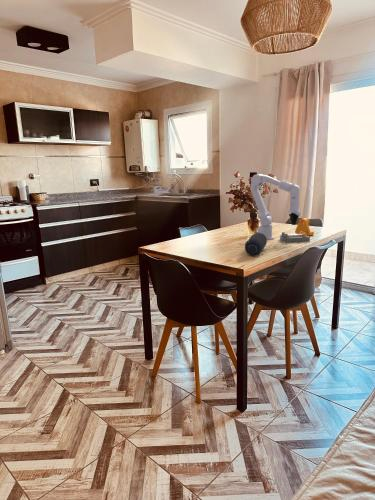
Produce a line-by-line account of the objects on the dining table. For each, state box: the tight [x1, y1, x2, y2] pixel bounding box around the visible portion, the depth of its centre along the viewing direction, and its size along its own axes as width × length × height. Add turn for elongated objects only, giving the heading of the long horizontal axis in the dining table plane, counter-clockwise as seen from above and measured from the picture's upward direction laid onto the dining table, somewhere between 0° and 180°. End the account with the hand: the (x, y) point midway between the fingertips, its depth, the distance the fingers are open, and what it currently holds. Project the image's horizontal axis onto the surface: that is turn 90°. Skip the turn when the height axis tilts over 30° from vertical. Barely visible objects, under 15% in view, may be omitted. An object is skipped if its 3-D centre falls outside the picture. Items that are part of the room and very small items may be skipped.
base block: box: [279, 231, 311, 244], centre depth 227 cm, size 16×10×5 cm, turn 97°
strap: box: [283, 233, 303, 237], centre depth 226 cm, size 14×3×1 cm, turn 97°
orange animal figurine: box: [294, 217, 315, 237], centre depth 242 cm, size 11×7×12 cm
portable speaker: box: [244, 232, 268, 257], centre depth 202 cm, size 25×10×10 cm, turn 159°
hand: (293, 224), depth 226 cm, fingers closed
